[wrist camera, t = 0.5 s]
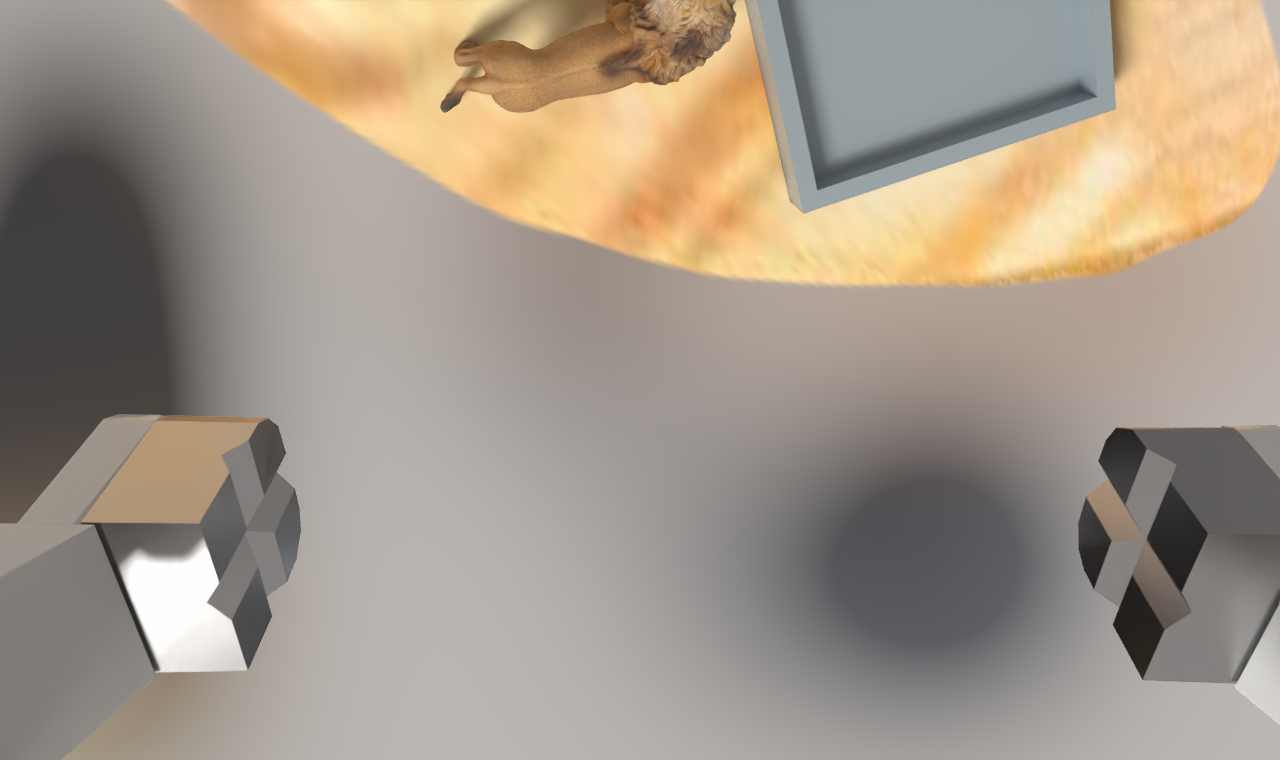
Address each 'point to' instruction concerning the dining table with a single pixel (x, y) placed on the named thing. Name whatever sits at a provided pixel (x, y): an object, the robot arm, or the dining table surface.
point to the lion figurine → (599, 54)
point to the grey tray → (921, 83)
